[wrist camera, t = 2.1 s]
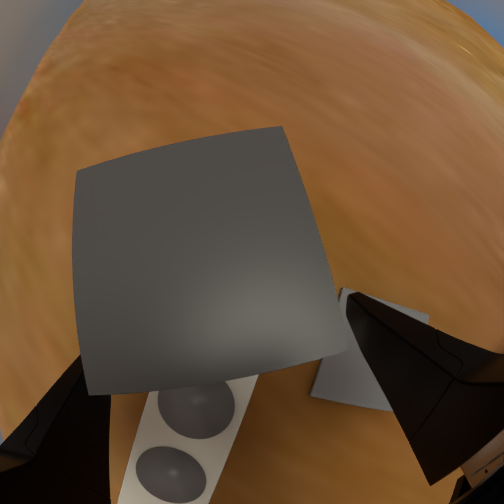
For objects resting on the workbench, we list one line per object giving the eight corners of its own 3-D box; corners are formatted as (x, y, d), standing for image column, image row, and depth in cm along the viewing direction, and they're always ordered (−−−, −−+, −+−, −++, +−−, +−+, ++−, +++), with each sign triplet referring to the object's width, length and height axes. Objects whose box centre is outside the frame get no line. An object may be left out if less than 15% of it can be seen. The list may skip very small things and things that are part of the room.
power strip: (184, 549, 13) (179, 566, 10) (118, 523, 13) (107, 537, 10) (281, 297, 20) (287, 290, 17) (200, 270, 20) (194, 259, 17)
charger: (271, 343, 17) (350, 349, 4) (198, 358, 16) (88, 395, 4) (254, 270, 18) (279, 120, 6) (183, 284, 18) (78, 165, 5)
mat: (401, 412, 17) (403, 413, 17) (309, 394, 18) (310, 395, 17) (426, 315, 20) (429, 314, 19) (341, 288, 20) (343, 287, 20)
